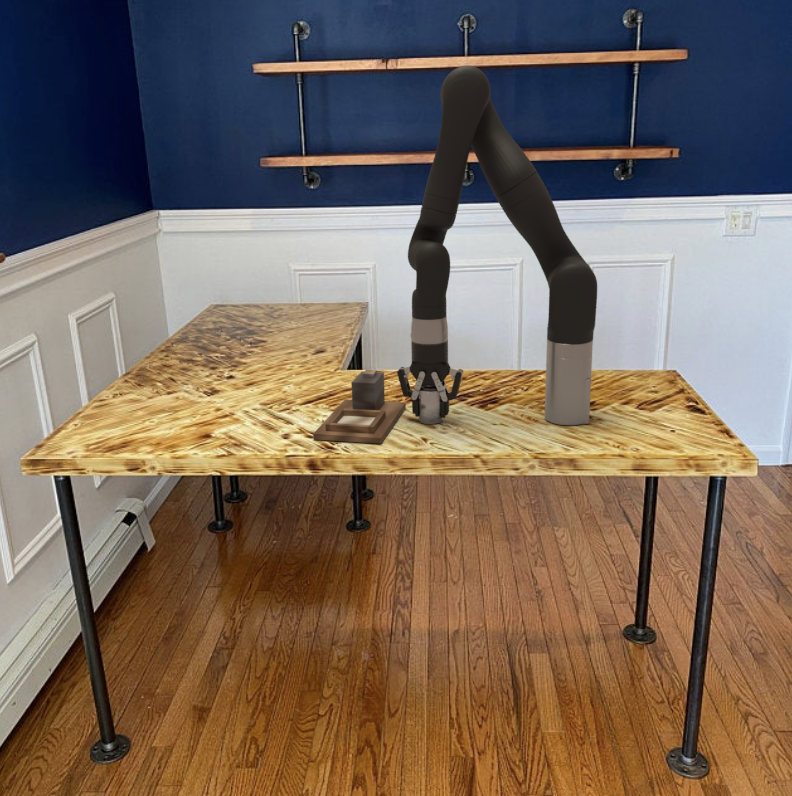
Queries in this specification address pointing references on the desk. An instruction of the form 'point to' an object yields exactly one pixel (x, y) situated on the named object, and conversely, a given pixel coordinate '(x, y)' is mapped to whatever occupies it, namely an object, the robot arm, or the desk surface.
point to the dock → (362, 413)
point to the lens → (429, 405)
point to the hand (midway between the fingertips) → (430, 415)
